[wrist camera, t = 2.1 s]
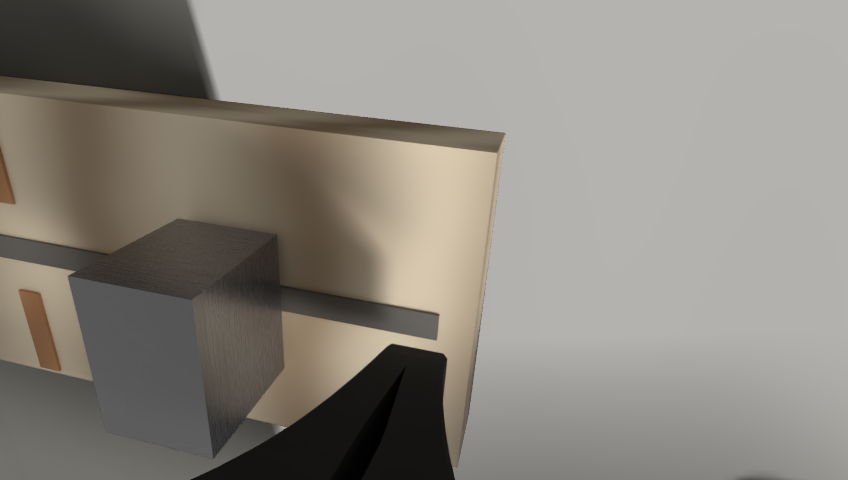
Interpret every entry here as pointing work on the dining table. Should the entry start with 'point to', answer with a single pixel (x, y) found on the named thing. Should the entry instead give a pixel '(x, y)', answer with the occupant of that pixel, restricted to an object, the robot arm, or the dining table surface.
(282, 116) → the board
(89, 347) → the fader tab
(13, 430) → the dining table surface
